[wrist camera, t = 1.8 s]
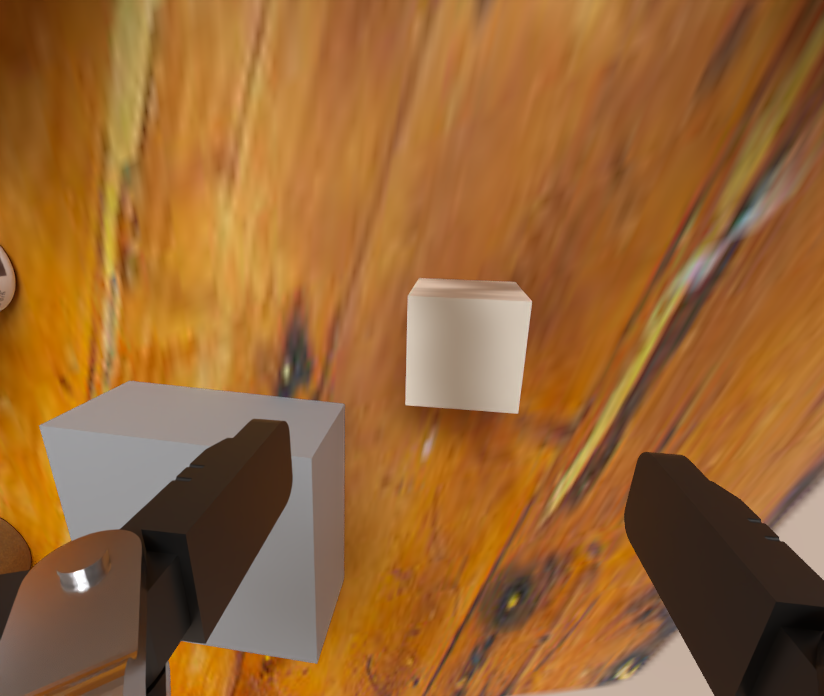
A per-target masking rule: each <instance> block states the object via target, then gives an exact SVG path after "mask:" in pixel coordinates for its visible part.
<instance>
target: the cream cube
mask: <svg viewBox="0 0 824 696" xmlns="http://www.w3.org/2000/svg"><path fill="white" fill-rule="evenodd" d="M531 307H532V301H531V300H530V299H529V297H528V296H527V295H526V294H525V293H524V292H523V290H522V289H521V288H520V287H519V286H518V284H517V283H516V282H503V281H479V280H456V279H432V278H419V279H418V281H417V282H416V284H415V285H414V287H413V288H412V290H411V292H410V293H409V295H408V309H407V354H406V400H405V405H410V406H423V407H437V408H450V409H463V410H477V411H490V412H503V413H517V414H518V410H519V402H520V394H521V387H522V379H523V371H524V363H525V355H526V347H527V339H528V331H529V323H530V315H531Z"/></svg>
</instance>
